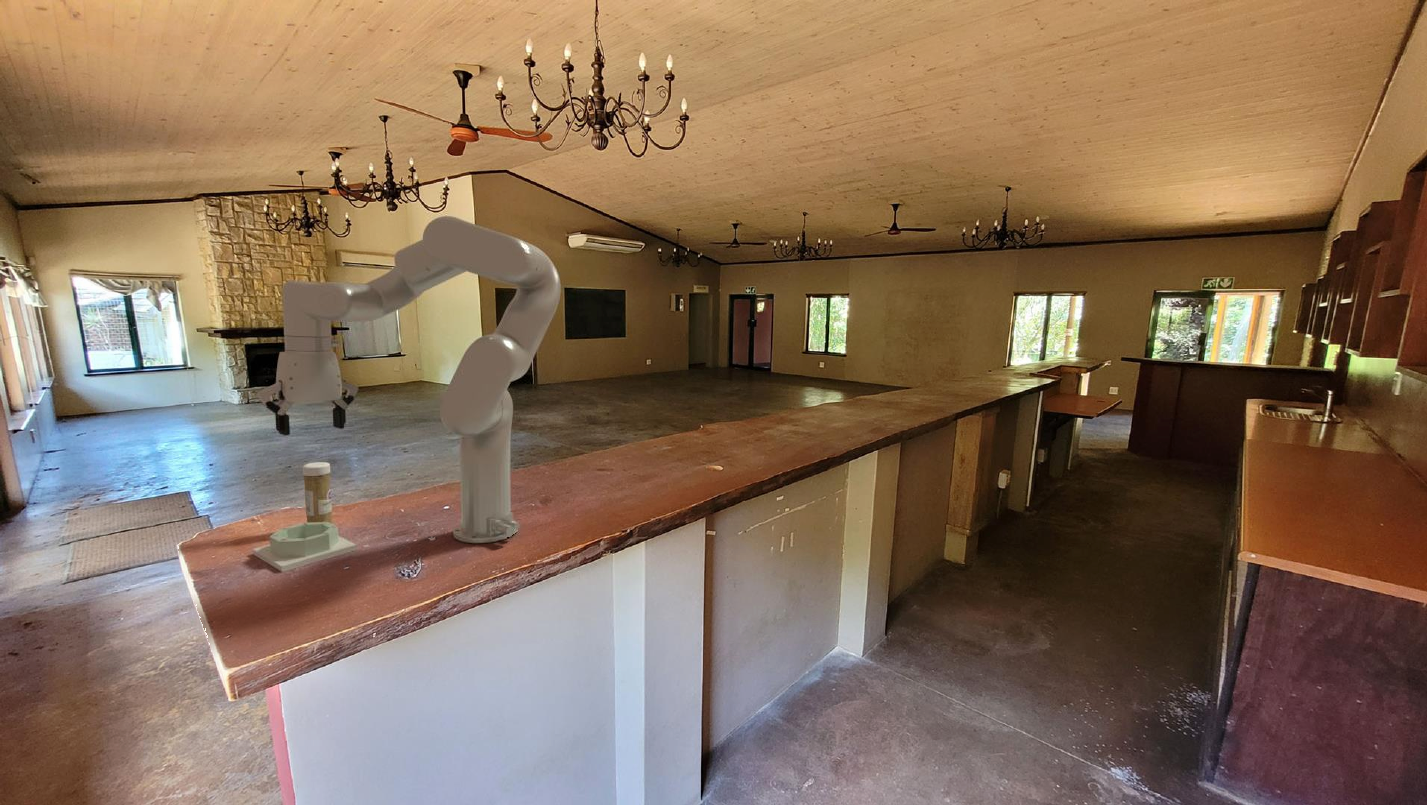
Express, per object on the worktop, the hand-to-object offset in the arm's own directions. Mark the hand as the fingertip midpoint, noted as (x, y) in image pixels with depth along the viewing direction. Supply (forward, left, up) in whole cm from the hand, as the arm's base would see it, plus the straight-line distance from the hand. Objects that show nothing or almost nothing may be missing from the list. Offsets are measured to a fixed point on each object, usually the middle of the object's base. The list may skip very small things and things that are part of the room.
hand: (312, 430), depth 113 cm
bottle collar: (-11, +7, -20) cm, 24 cm away
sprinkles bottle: (0, 0, -21) cm, 21 cm away
